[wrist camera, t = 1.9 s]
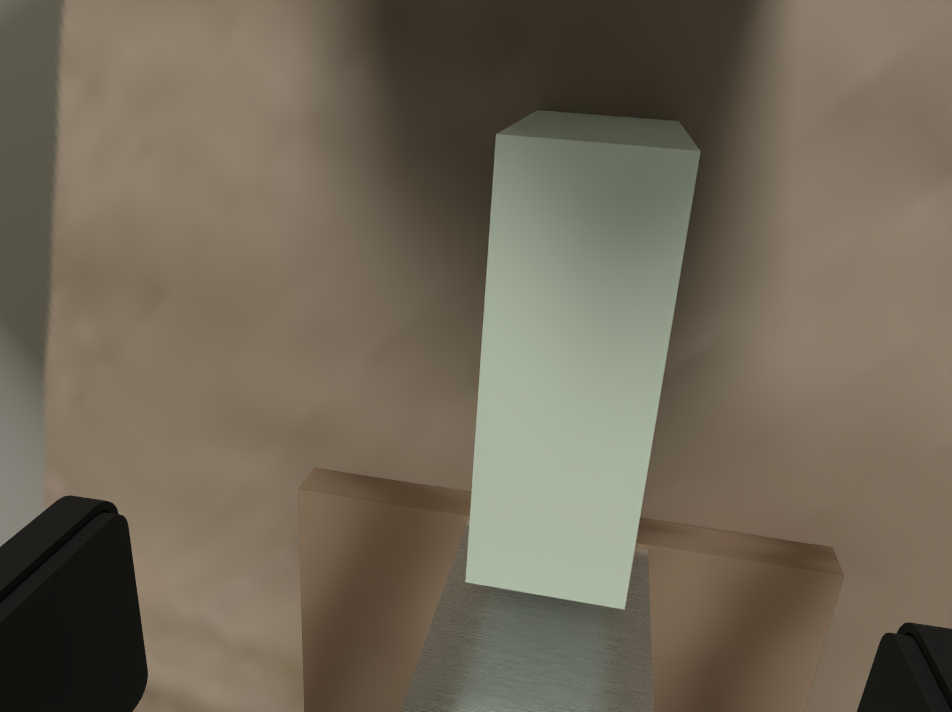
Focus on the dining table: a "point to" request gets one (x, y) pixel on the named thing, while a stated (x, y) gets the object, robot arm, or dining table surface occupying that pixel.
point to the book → (574, 347)
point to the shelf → (546, 616)
